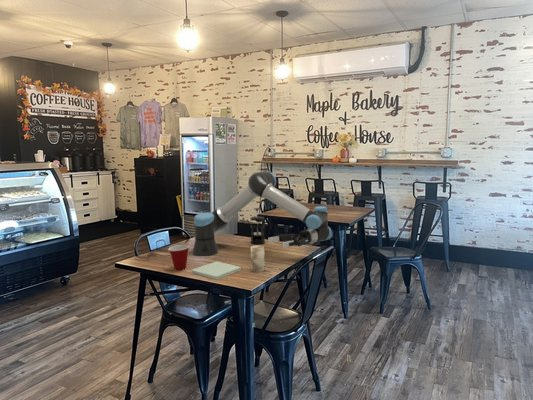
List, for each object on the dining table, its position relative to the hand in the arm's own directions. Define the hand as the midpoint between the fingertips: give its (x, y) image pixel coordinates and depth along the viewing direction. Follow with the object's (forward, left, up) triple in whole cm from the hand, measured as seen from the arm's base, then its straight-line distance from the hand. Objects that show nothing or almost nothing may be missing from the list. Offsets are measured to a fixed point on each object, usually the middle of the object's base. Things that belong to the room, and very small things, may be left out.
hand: (275, 242), depth 209 cm
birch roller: (-4, -10, -13) cm, 17 cm away
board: (-20, -24, -13) cm, 34 cm away
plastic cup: (-39, -32, -13) cm, 52 cm away
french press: (-39, +34, -13) cm, 53 cm away
